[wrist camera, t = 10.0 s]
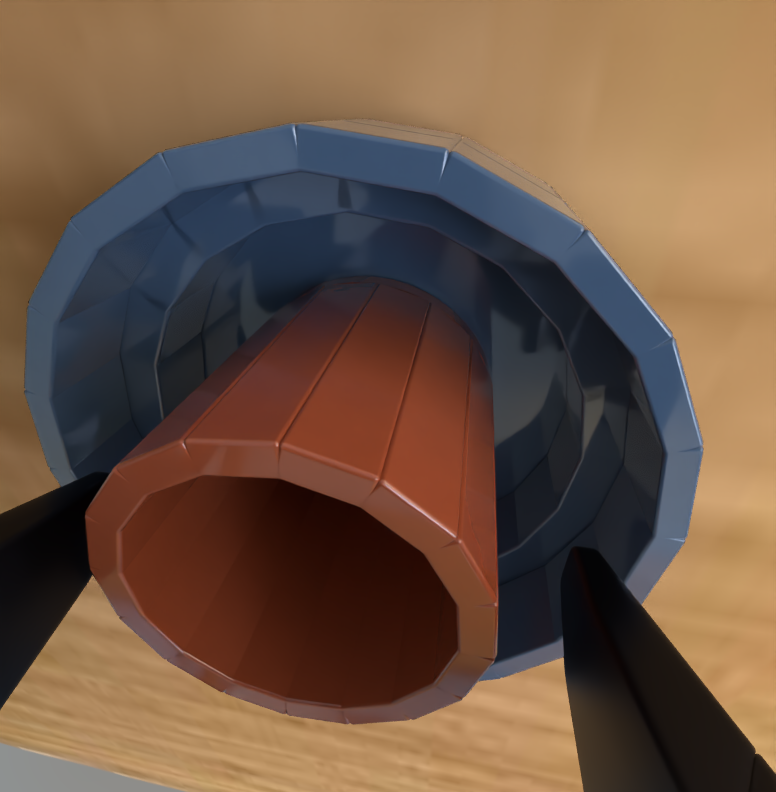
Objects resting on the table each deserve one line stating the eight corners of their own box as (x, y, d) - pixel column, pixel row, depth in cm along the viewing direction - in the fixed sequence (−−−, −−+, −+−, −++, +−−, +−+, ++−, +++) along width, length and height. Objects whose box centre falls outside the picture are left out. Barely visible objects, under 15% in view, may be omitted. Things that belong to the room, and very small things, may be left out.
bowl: (314, 571, 19) (264, 704, 15) (77, 274, 14) (-102, 346, 10) (677, 488, 14) (760, 652, 10) (518, -21, 9) (546, -142, 5)
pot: (334, 502, 16) (245, 734, 10) (216, 335, 13) (1, 513, 7) (527, 446, 13) (561, 711, 7) (427, 228, 11) (358, 367, 5)
